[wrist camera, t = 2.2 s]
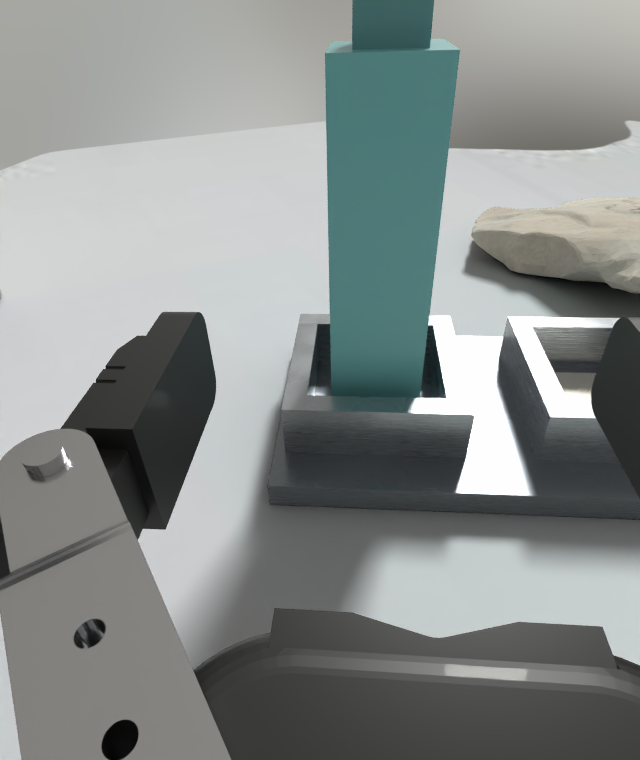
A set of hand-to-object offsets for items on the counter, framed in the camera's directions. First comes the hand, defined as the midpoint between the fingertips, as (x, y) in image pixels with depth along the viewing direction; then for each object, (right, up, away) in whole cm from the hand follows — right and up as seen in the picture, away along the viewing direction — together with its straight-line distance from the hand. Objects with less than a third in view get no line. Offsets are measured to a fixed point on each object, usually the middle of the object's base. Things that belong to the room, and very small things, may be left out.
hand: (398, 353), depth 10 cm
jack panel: (+7, -3, +16) cm, 17 cm away
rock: (+18, +8, +30) cm, 36 cm away
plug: (+1, -1, +16) cm, 16 cm away
